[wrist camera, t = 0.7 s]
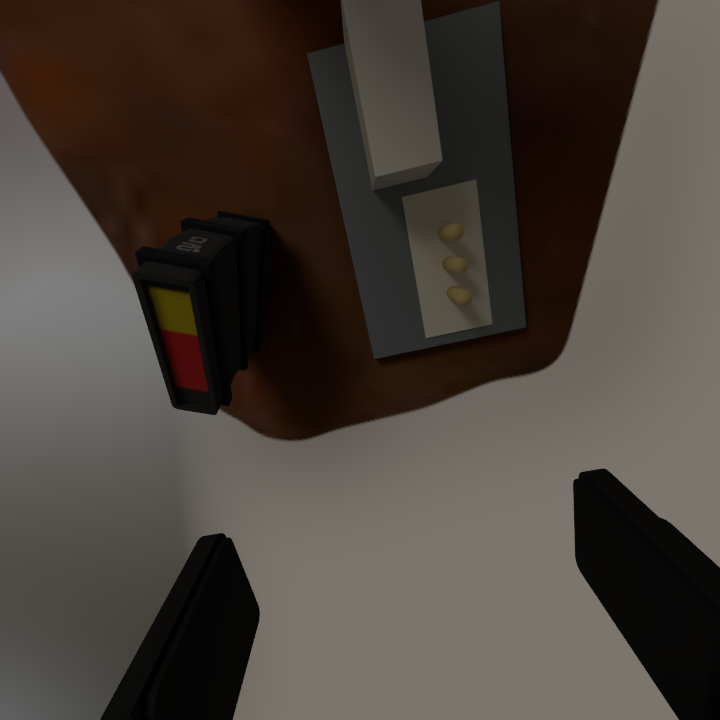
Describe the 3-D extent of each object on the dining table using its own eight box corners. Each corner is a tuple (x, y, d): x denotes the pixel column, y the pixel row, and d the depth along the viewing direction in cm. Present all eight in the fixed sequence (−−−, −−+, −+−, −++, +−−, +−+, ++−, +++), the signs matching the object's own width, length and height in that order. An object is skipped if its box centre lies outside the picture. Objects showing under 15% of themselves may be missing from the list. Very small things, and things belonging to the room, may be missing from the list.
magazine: (276, 181, 28) (199, 277, 17) (276, 314, 37) (225, 433, 26) (229, 171, 28) (121, 263, 17) (240, 308, 37) (173, 425, 26)
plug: (323, -63, 24) (312, -158, 19) (387, -82, 24) (395, -184, 18) (372, 190, 29) (375, 176, 23) (426, 177, 29) (442, 160, 23)
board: (309, 61, 27) (298, 23, 23) (493, 11, 26) (521, -39, 22) (373, 355, 34) (375, 372, 30) (520, 324, 33) (546, 337, 29)
